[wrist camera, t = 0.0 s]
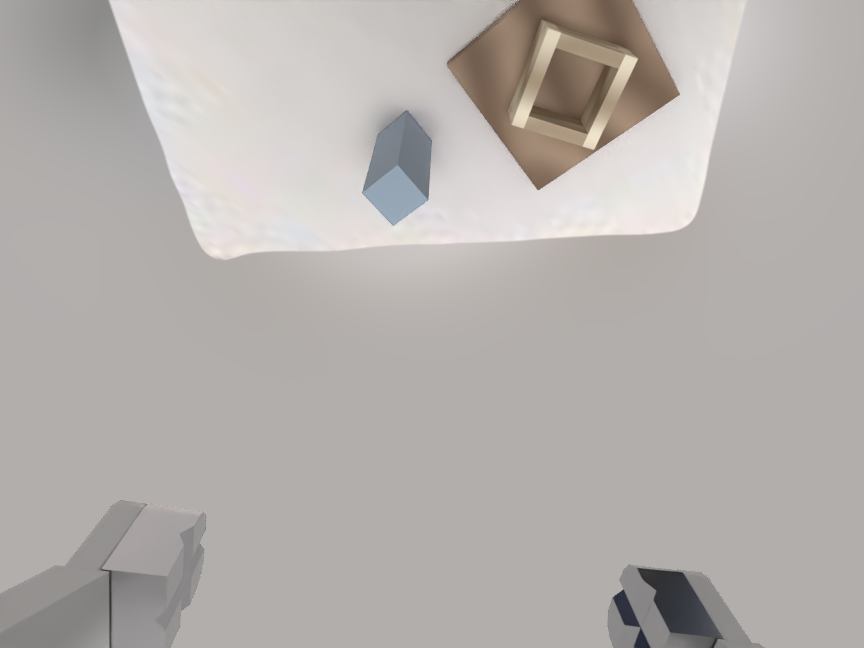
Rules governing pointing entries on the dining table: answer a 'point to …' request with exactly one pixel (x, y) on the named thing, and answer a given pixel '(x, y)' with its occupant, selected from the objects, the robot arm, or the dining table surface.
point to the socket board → (563, 79)
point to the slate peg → (399, 169)
